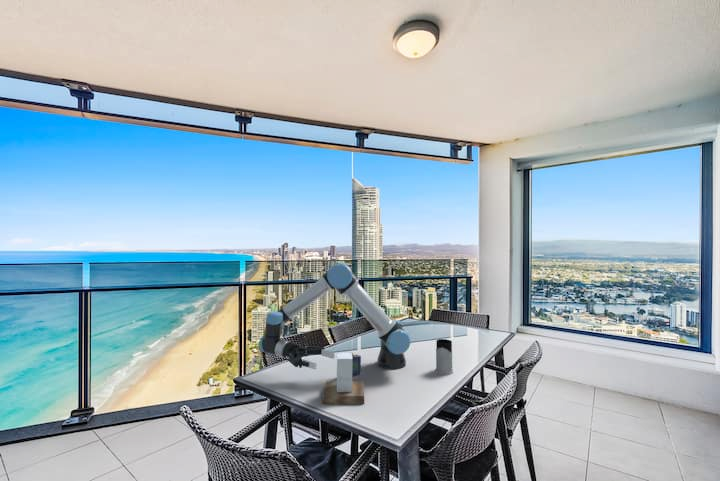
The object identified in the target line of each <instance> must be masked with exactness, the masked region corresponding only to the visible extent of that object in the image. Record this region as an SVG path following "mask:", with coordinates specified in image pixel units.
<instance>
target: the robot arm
mask: <svg viewBox="0 0 720 481" xmlns="http://www.w3.org/2000/svg"><path fill="white" fill-rule="evenodd" d="M359 281H360V280H359V278H358V276H357V275H356V274H355V273H354V272H353V271H352V270H351V268H350V267H349V266H348V265H347V264H346V263H343V262H337V263H334V264H332V265H331V266H330V267H329V269H328V270H326V272H324V273H323V274H322V275H321V278H320V279H318V280H317V281H316V282H315V283H313V284H312V285H311V286H309V287H308V288H306V289H305V290H304V291H302V292H301V293H300V294H299V295H297V296H296V297H295V298H294V299H292V300H290V301H289V302H288V303H286V304H285V305H284V306H283V307H281V308H280V309H278V310H277V311H269V312H268V313H267V314H266V319H265V329H264V335H263V336H262V337H260V338H259V341H258V345H257V347H258V350H260V351H261V352H263V353H265V354H269V355H272V356H275V357H280V358H281V359H285V361H288V362H290V364H291V365H292V366H293V367H295V368H299V369H301V368H303V367H306V368H309V369H312V370H317V367H318V366H317V365H318V363H317V362H316V361H313V360H309V359H305V358H303V357H308V356H313V355H318V356H322V357H325V358H329V359H335V351H331V350H327V349H325V346H313V345H304V346H303V347H299V345H298V344H297V343H296V342H292V341H288V340H284V339H282V338H281V335H282V327H283V326H285V324H287V323H288V322H289V321H290V320H292V319H293V318H294V317H296V316H297V315H299V314H300V313H301V312H302V311H303V310H305V309H307V308H308V307H309V306H311V305H312V304H313V303H315V302H316V301H317V300H319V298H321V297H322V296H324V295H325V294H326V293H328V292H329V291H333V290H336V291H337V292H338V293H339V294H340V295H341V296H346V297H347V299H348V300H349V302H351V303H352V304H353V305H354V307H355V308H356V309H357V311H358V312H360V313H361V315H362V316H363V317H364V318H365V319H366V320H367V321H368V322H369V324H370V325H371V326H372V328H374V329H375V330H376V331H377V337H378V338H379V339H380V349H379V350H380V351H379V354H378V356H377V360H376V362H377V366H379V367H381V368H384V369H388V370H389V369H390V370H397V369H402V368H404V367H406V365H407V362H406V361H407V360H406V357H405V354H404V353H406V352H407V351H408V350H409V348H410V346H411V338H410V335H409V333H408V332H407V331H405V330H404V328H403V326H404V325H403V321H402V320H398V319H397V320H395V319H391V318H390V317H389V316H388V315H387V314H386V313H385V311H383V309H382V308H381V307H380V306H379V305H378V304H377V302H376V301H375V300H374V299H373V298H372V297H371V296H370V294H368V292H367V291H366V290H365V289H364V288H363V287H362V285H361V284H360V282H359ZM302 358H303V359H302Z"/></svg>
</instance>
